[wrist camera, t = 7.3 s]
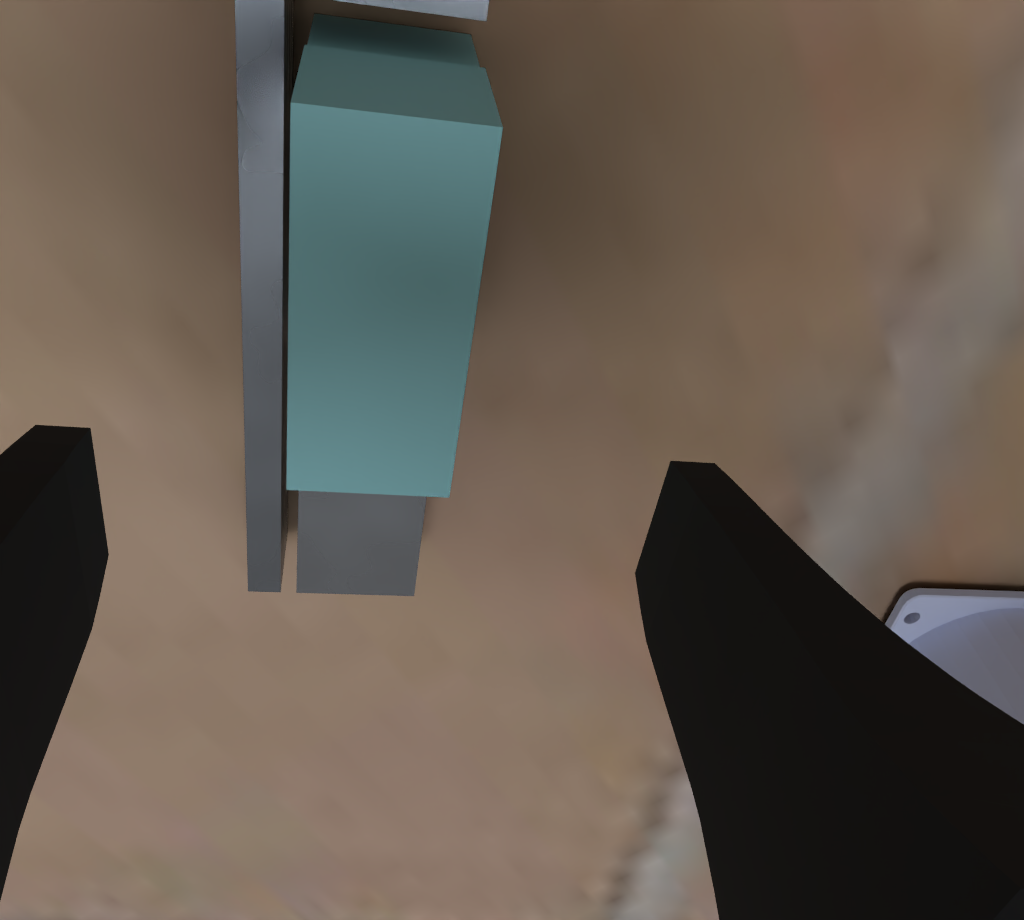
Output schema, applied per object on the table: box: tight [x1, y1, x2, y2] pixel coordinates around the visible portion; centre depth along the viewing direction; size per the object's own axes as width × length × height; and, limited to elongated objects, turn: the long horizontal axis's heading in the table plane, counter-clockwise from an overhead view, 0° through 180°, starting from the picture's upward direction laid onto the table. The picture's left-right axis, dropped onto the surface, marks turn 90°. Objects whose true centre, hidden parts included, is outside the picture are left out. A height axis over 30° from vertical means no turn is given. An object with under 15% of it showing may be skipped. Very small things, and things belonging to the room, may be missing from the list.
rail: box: [235, 0, 489, 596], centre depth 19 cm, size 20×4×2 cm, turn 171°
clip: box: [286, 13, 503, 498], centre depth 18 cm, size 7×3×6 cm, turn 171°
